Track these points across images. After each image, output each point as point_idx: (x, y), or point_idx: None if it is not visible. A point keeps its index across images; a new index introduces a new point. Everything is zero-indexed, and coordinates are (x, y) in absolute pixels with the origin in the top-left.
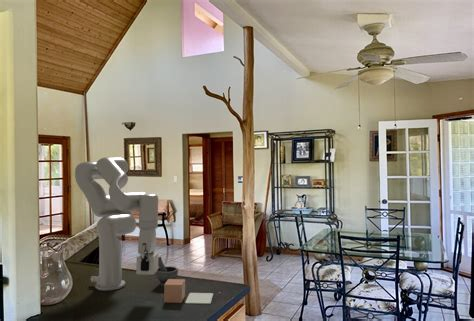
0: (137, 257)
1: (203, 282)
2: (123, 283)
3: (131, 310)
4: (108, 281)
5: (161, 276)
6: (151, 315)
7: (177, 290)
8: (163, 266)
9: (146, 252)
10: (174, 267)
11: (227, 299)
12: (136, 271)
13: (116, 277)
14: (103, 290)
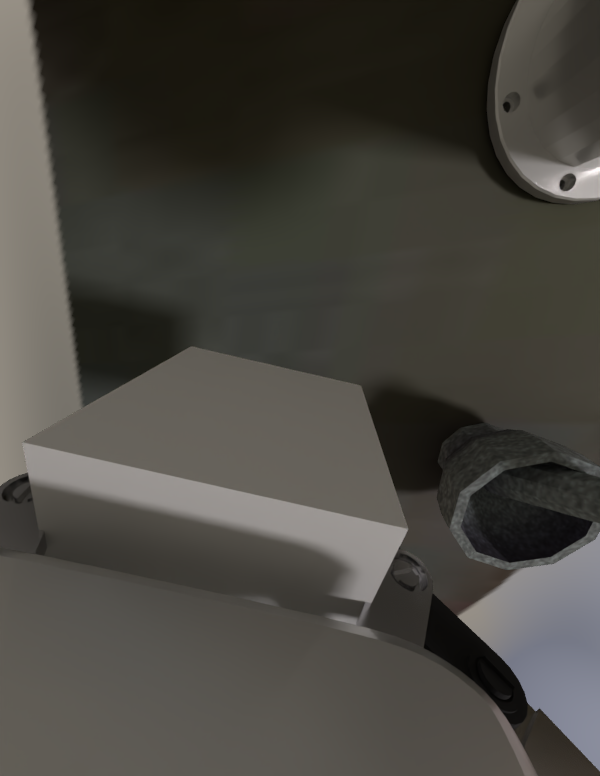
0: (45, 446)
1: (444, 585)
2: (572, 188)
3: (136, 301)
4: (568, 19)
5: (459, 465)
6: (89, 392)
7: None
8: (567, 510)
9: (352, 595)
10: (555, 556)
11: None
12: (178, 355)
13: (594, 95)
14: (504, 24)
